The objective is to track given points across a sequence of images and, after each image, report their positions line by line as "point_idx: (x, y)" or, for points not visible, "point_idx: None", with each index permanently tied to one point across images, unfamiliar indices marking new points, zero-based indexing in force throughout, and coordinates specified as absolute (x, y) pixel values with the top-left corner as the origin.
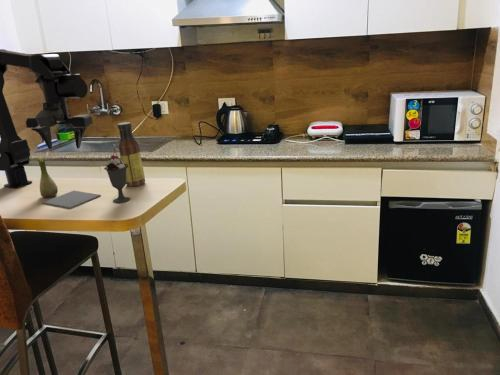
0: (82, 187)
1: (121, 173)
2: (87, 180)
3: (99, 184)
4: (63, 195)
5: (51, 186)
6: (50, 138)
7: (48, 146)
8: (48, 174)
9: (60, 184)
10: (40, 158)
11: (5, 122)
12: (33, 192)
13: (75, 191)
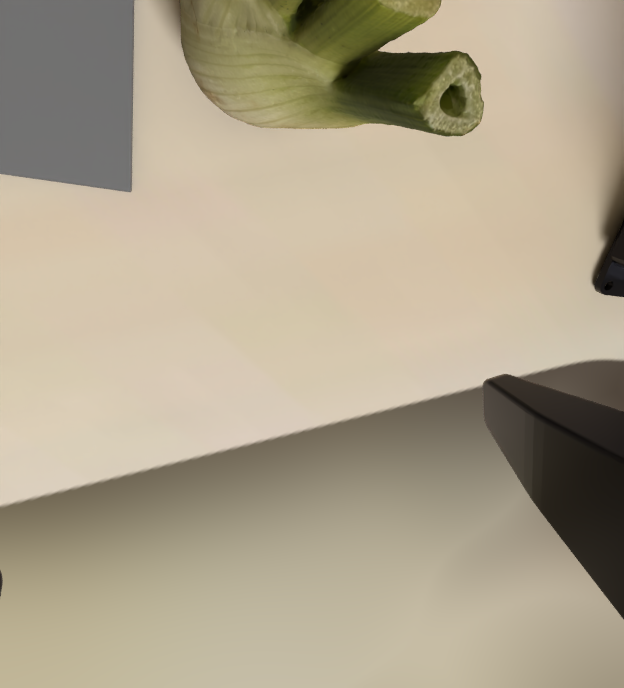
0: (155, 295)
1: None
2: (249, 417)
3: (77, 379)
4: (102, 46)
5: None
6: (617, 585)
7: (529, 394)
8: (280, 63)
9: (381, 310)
10: (460, 66)
11: None
12: None
13: (89, 173)
